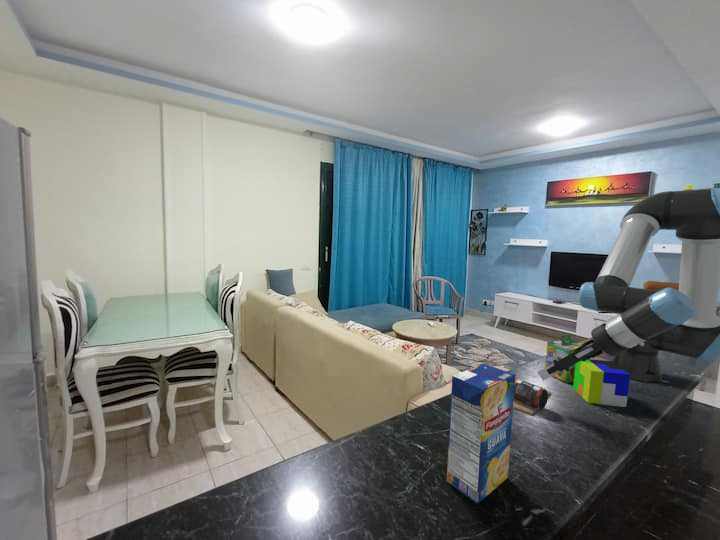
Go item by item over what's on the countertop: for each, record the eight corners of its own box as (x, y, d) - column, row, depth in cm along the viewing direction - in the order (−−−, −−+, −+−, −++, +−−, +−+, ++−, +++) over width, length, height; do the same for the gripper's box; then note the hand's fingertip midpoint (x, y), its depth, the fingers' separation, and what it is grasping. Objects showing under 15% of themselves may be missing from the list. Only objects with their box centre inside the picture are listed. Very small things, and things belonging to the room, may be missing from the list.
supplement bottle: (546, 385, 91) (507, 370, 100) (537, 402, 89) (498, 386, 98) (551, 397, 94) (512, 382, 103) (542, 414, 92) (503, 397, 101)
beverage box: (446, 481, 66) (452, 376, 63) (477, 459, 72) (484, 363, 70) (477, 504, 60) (484, 390, 58) (507, 477, 67) (515, 374, 64)
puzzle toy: (626, 407, 96) (630, 374, 94) (587, 403, 98) (591, 370, 96) (607, 391, 105) (611, 361, 104) (573, 387, 107) (576, 358, 106)
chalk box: (566, 384, 110) (571, 341, 108) (543, 372, 118) (547, 332, 117) (586, 380, 113) (591, 338, 111) (562, 369, 121) (566, 330, 120)
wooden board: (510, 380, 111) (511, 379, 111) (550, 393, 103) (550, 391, 103) (488, 399, 98) (488, 397, 98) (531, 415, 90) (531, 413, 90)
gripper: (619, 354, 75) (538, 394, 90) (638, 344, 82) (560, 382, 97) (594, 326, 78) (521, 369, 94) (614, 318, 86) (543, 359, 101)
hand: (541, 375), depth 96 cm, fingers closed
